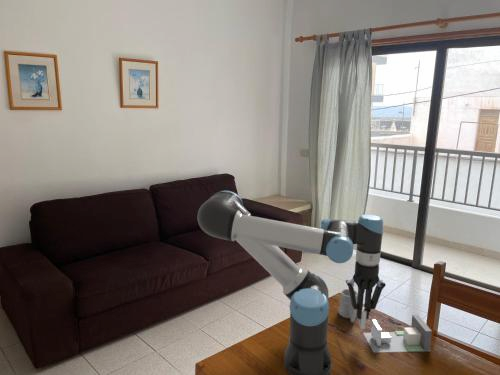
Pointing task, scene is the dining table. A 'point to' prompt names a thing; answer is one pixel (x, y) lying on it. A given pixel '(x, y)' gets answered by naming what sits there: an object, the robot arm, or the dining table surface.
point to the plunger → (379, 334)
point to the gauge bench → (398, 341)
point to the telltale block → (412, 336)
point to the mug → (347, 305)
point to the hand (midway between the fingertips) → (361, 326)
